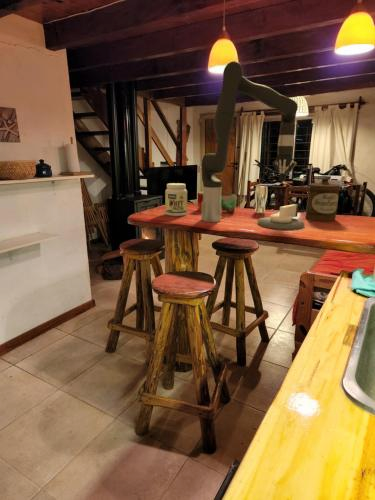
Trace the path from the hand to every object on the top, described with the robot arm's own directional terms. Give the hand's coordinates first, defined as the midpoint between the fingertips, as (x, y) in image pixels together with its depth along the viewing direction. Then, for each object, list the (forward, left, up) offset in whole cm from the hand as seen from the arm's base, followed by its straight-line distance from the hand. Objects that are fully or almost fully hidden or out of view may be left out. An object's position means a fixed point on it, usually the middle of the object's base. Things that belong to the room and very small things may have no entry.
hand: (282, 181), depth 161 cm
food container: (-17, +25, -20) cm, 36 cm away
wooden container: (+23, -3, -20) cm, 31 cm away
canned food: (-30, +35, -20) cm, 50 cm away
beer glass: (0, +21, -20) cm, 29 cm away
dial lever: (-1, -8, -18) cm, 20 cm away
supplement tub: (-49, +27, -20) cm, 59 cm away
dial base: (-5, -10, -20) cm, 23 cm away
